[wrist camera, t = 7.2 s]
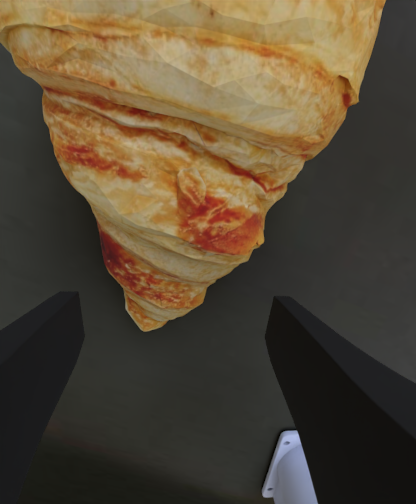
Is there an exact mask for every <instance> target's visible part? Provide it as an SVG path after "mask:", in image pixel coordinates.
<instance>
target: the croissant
mask: <svg viewBox="0 0 416 504" xmlns="http://www.w3.org/2000/svg"><path fill="white" fill-rule="evenodd" d="M385 1H386V0H0V42H1V44H2V45H3V46H4V47H5V48H6V49H7V50H8V51H9V52H10V53H11V54H12V57H13V60H14V63H15V65H16V66H17V67H18V68H19V70H20V71H21V72H22V73H23V74H25V75H27V76H29V77H31V78H33V79H34V80H35V81H36V82H37V83H38V84H40V85H41V87H42V89H43V91H44V92H43V97H42V105H43V115H44V121H45V123H46V124H47V126H48V127H49V132H50V137H51V141H52V143H53V147H54V153H55V156H56V158H57V160H58V162H59V165H60V167H61V169H62V171H63V173H64V175H65V176H66V178H67V180H68V181H69V182H70V184H71V185H72V186H73V187H74V188H75V189H76V190H77V191H78V192H79V193H81V194H82V195H83V196H84V197H85V198H86V199H87V201H88V202H89V204H90V205H91V208H92V211H93V213H94V215H95V217H96V219H97V224H98V229H99V235H100V242H101V248H102V254H103V258H104V263H105V265H106V267H107V270H108V272H109V273H110V274H111V275H112V276H113V277H114V278H115V279H116V280H117V282H118V283H119V284H120V285H121V287H122V288H123V290H124V297H125V300H126V310H127V312H128V313H129V315H130V316H131V317H132V319H133V320H134V321H135V323H136V324H137V325H138V327H139V328H140V329H141V330H142V331H150V330H154V329H157V328H160V327H162V326H163V325H164V324H166V322H167V321H168V320H173V319H175V318H176V317H181V316H184V315H185V314H187V313H188V312H189V311H190V310H192V309H194V308H196V307H197V306H199V305H200V304H202V303H203V300H204V297H205V293H206V289H207V287H208V286H210V285H211V284H213V283H215V281H216V279H219V278H221V277H223V276H225V275H226V274H228V273H230V272H231V271H232V270H233V269H234V268H235V267H237V266H238V265H239V264H240V263H243V262H246V261H248V260H249V257H250V255H251V253H252V251H253V249H256V248H258V247H260V245H261V244H262V243H264V235H263V230H264V223H265V216H266V213H267V211H268V210H269V209H270V208H271V206H272V205H273V204H274V203H275V202H276V201H278V200H279V199H281V198H282V197H283V196H284V194H285V192H286V191H287V184H288V183H289V182H290V181H292V180H293V179H295V178H296V176H297V174H298V173H299V172H300V171H301V170H302V168H303V165H304V162H305V161H307V160H310V159H313V158H314V157H315V156H316V155H317V154H318V153H319V152H320V151H322V150H323V149H324V148H325V147H326V146H327V145H328V144H329V142H330V141H331V139H332V138H333V136H334V135H335V133H336V132H337V130H338V129H339V127H340V126H341V124H342V123H343V121H344V120H345V116H346V112H347V108H348V107H349V106H351V105H353V104H356V103H357V102H359V100H358V96H359V89H360V85H361V82H362V80H363V77H364V72H365V69H366V67H367V64H368V62H369V59H370V56H371V53H372V49H373V46H374V43H375V39H376V36H377V33H378V28H379V24H380V19H381V14H382V10H383V7H384V4H385Z"/></svg>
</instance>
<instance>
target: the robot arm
mask: <svg viewBox="0 0 416 504" xmlns="http://www.w3.org/2000/svg"><path fill="white" fill-rule="evenodd" d="M84 337H85V334H84V327H83V320H82V314H81V307H80V300H79V293H78V292H61V291H60V292H59V293H57V294H55V295H54V296H52V297H50V298H49V299H47V300H46V301H44V302H43V303H41V304H40V305H38V306H37V307H35V308H34V309H32V310H31V311H29V312H28V313H26V314H25V315H23V316H22V317H20V318H19V319H17V320H16V321H14V322H13V323H11V324H10V325H8V326H7V327H5V328H3V329H2V330H0V504H17V501H18V498H19V496H20V493H21V490H22V487H23V484H24V481H25V479H26V476H27V473H28V471H29V468H30V465H31V462H32V460H33V457H34V454H35V452H36V449H37V446H38V444H39V442H40V439H41V437H42V435H43V432H44V430H45V428H46V426H47V424H48V422H49V419H50V417H51V415H52V413H53V411H54V409H55V407H56V405H57V403H58V401H59V398H60V396H61V394H62V392H63V390H64V388H65V386H66V384H67V382H68V380H69V377H70V375H71V373H72V371H73V369H74V367H75V364H76V362H77V359H78V356H79V353H80V350H81V347H82V344H83V341H84ZM265 340H266V345H267V349H268V353H269V357H270V361H271V364H272V366H273V369H274V372H275V374H276V377H277V379H278V382H279V385H280V387H281V390H282V392H283V395H284V397H285V400H286V402H287V405H288V408H289V410H290V413H291V415H292V418H293V420H294V423H295V426H296V429H297V430H293V431H284V432H282V433H281V435H280V437H279V440H278V443H277V446H276V449H275V452H274V455H273V458H272V461H271V464H270V467H269V470H268V473H267V476H266V479H265V482H264V485H263V488H262V495H263V496H264V497H273V498H274V502H275V504H416V383H414V382H412V381H410V380H408V379H407V378H405V377H403V376H401V375H400V374H398V373H396V372H395V371H393V370H391V369H390V368H388V367H387V366H385V365H383V364H382V363H380V362H378V361H377V360H375V359H374V358H372V357H371V356H369V355H367V354H366V353H364V352H363V351H362V350H360V349H359V348H357V347H356V346H354V345H353V344H351V343H350V342H349V341H347V340H346V339H344V338H343V337H342V336H340V335H339V334H338V333H336V332H335V331H334V330H332V329H331V328H330V327H328V326H327V325H326V324H324V323H323V322H322V321H321V320H319V319H318V318H317V317H316V316H314V315H313V314H312V313H310V312H309V311H308V310H307V309H305V308H304V307H303V306H302V305H300V304H299V303H298V302H296V301H295V300H294V299H292V298H291V297H286V296H274V299H273V303H272V308H271V312H270V316H269V321H268V325H267V329H266V334H265Z"/></svg>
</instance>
